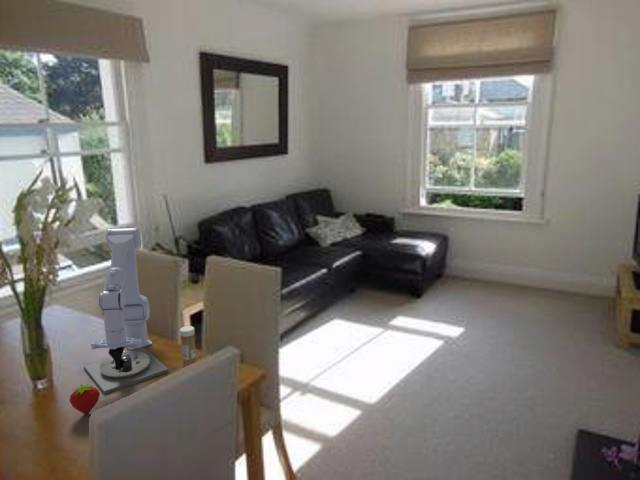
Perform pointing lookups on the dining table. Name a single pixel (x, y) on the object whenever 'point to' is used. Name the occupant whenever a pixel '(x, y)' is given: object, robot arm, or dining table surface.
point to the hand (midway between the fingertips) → (119, 368)
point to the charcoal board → (115, 384)
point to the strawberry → (84, 398)
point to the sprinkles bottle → (188, 345)
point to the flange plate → (124, 375)
